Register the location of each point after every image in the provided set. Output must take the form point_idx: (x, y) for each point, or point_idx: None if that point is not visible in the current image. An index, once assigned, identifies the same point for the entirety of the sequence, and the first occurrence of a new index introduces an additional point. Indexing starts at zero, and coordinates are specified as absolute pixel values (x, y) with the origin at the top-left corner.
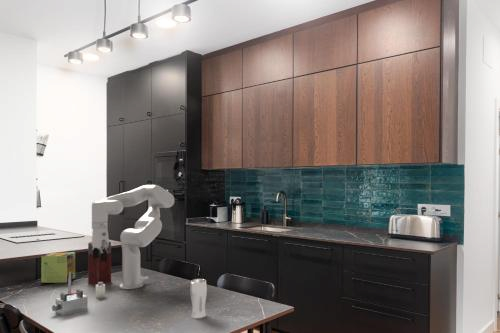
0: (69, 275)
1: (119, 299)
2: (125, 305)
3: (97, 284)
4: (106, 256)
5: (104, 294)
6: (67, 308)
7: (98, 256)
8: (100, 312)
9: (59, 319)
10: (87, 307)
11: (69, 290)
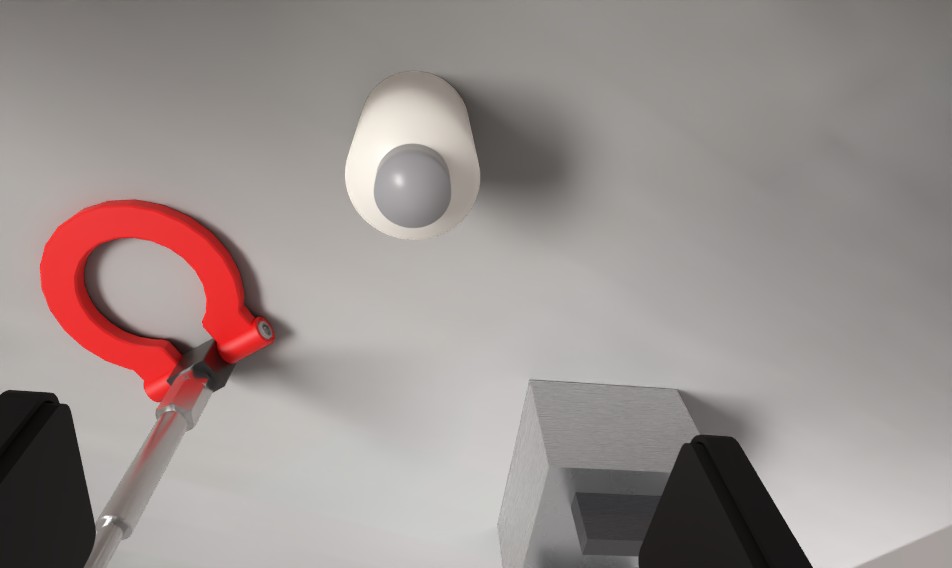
0: (109, 553)
1: (711, 44)
2: (928, 132)
3: (355, 194)
4: (784, 555)
5: (464, 108)
6: None
7: (48, 445)
8: (830, 359)
9: None
10: (683, 402)
11: (201, 413)
